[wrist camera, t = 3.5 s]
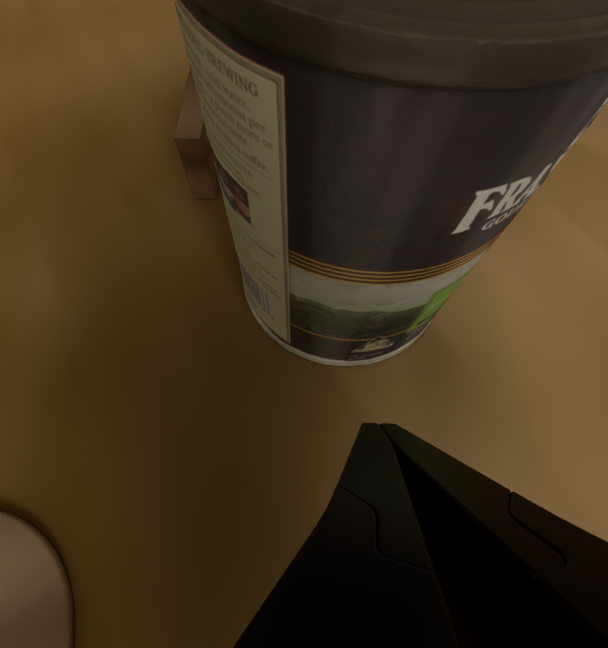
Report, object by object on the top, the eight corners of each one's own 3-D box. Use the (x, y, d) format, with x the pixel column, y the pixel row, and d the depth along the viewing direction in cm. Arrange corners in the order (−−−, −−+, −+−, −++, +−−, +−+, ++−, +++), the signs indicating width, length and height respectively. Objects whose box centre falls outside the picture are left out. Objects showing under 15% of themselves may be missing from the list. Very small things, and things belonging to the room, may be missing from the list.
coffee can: (472, 253, 20) (789, -161, 7) (376, 411, 17) (652, 156, 4) (314, 168, 22) (342, -268, 9) (200, 292, 19) (-6, -127, 6)
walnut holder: (483, 209, 21) (522, 152, 18) (195, 198, 21) (174, 138, 18) (457, 80, 26) (484, 12, 22) (218, 69, 26) (206, 0, 22)
